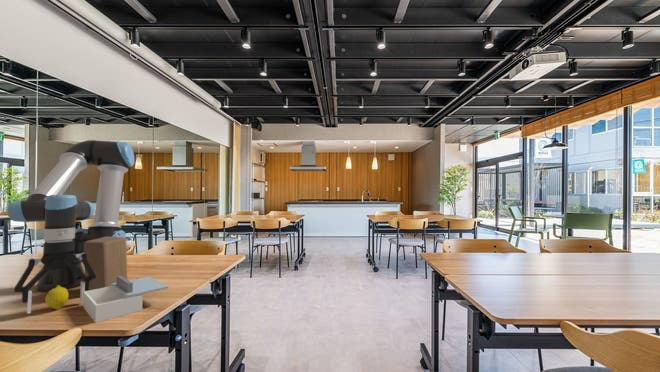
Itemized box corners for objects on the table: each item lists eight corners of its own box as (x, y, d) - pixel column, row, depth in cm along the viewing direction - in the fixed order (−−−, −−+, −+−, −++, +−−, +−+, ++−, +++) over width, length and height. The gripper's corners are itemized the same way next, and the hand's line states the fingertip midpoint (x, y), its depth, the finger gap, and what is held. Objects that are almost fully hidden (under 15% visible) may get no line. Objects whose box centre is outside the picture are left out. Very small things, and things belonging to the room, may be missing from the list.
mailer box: (82, 306, 95) (83, 291, 95) (125, 296, 104) (125, 283, 104) (95, 322, 83) (96, 305, 83) (142, 310, 92) (142, 294, 92)
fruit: (55, 306, 95) (56, 282, 95) (72, 305, 96) (73, 282, 96) (39, 313, 90) (40, 287, 90) (58, 312, 90) (59, 287, 90)
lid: (111, 285, 101) (112, 275, 101) (149, 278, 110) (149, 268, 110) (127, 297, 89) (127, 285, 89) (168, 288, 98) (168, 277, 98)
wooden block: (105, 294, 107) (103, 242, 106) (84, 292, 109) (82, 241, 108) (128, 284, 117) (127, 236, 116) (109, 282, 119) (107, 235, 118)
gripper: (4, 246, 82) (0, 321, 81) (107, 237, 100) (105, 298, 99) (4, 244, 87) (0, 314, 86) (102, 236, 105) (100, 294, 104)
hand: (56, 306), depth 93 cm, fingers open, 12 cm apart
